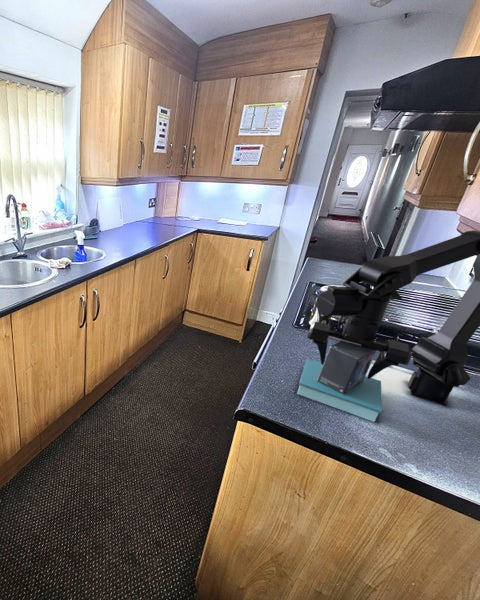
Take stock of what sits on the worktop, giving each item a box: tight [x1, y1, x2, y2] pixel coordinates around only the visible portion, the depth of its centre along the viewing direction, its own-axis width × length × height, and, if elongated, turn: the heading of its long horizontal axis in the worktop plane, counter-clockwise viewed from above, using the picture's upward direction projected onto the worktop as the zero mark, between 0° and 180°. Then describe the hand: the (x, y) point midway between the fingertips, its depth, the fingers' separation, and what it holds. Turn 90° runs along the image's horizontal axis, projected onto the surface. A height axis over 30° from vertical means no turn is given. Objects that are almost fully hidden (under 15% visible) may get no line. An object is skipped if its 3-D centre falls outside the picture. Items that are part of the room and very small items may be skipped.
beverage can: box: [308, 297, 333, 326], centre depth 115 cm, size 6×6×12 cm
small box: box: [317, 341, 378, 394], centre depth 81 cm, size 11×6×10 cm, turn 120°
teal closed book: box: [296, 358, 383, 423], centre depth 83 cm, size 16×14×4 cm
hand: (344, 370), depth 81 cm, fingers open, 9 cm apart
